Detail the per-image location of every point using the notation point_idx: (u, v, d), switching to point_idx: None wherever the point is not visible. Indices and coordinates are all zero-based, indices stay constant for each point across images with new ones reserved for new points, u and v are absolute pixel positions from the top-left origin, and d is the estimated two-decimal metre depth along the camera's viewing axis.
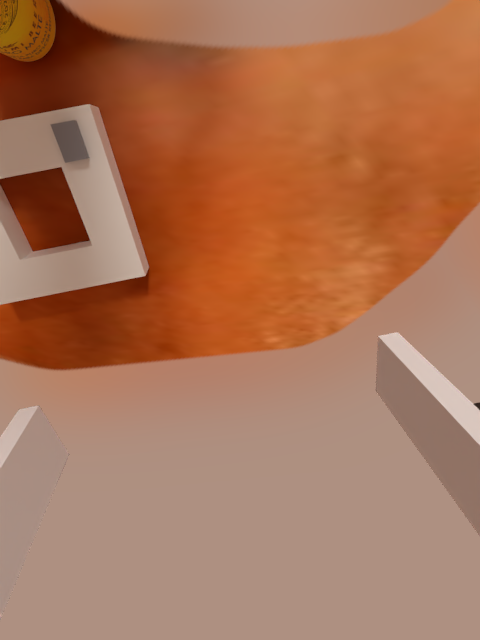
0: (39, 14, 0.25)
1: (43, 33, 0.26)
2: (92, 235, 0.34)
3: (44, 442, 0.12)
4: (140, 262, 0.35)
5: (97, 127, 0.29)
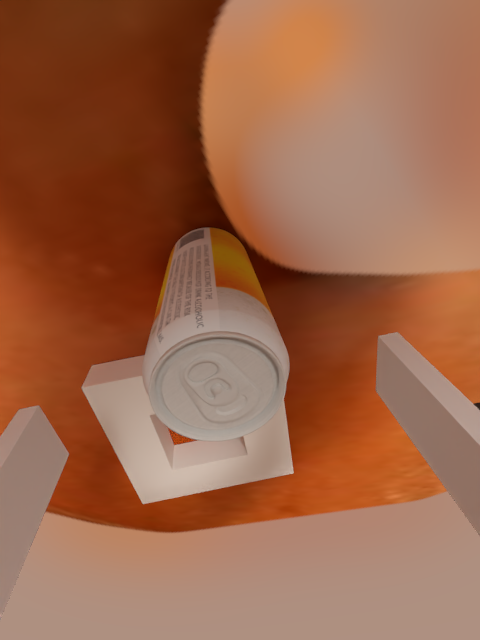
0: None
1: None
2: (250, 447, 0.32)
3: (44, 442, 0.12)
4: (291, 463, 0.34)
5: None
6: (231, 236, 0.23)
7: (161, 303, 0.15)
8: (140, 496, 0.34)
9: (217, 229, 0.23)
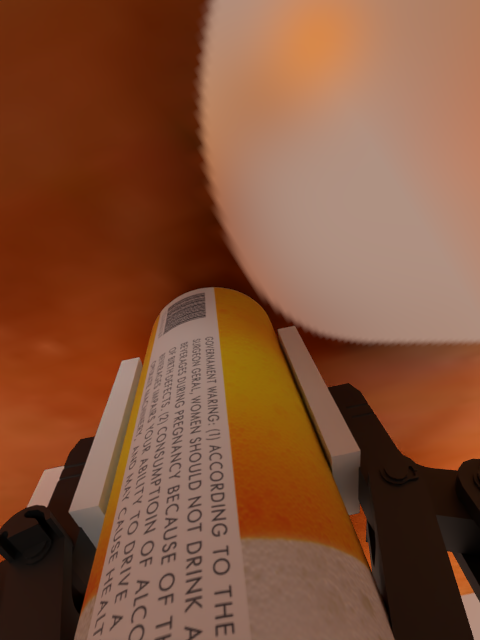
0: None
1: None
2: None
3: None
4: None
5: None
6: (249, 302, 0.15)
7: (110, 530, 0.07)
8: None
9: (226, 291, 0.15)
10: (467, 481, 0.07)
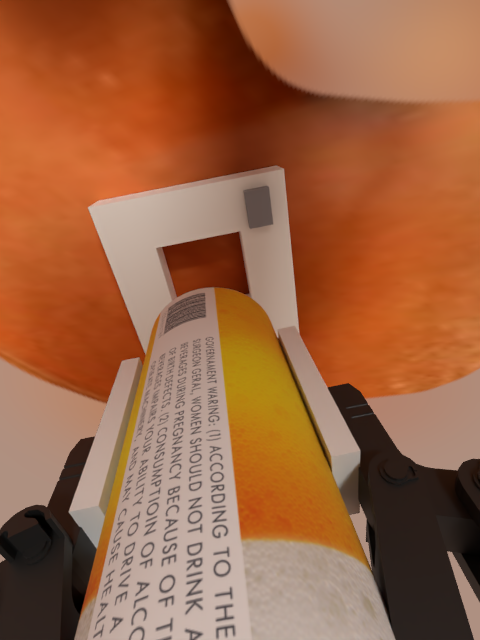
0: None
1: None
2: (256, 296, 0.32)
3: None
4: (297, 321, 0.34)
5: None
6: (249, 302, 0.15)
7: (110, 531, 0.07)
8: None
9: (226, 291, 0.15)
10: (467, 481, 0.07)
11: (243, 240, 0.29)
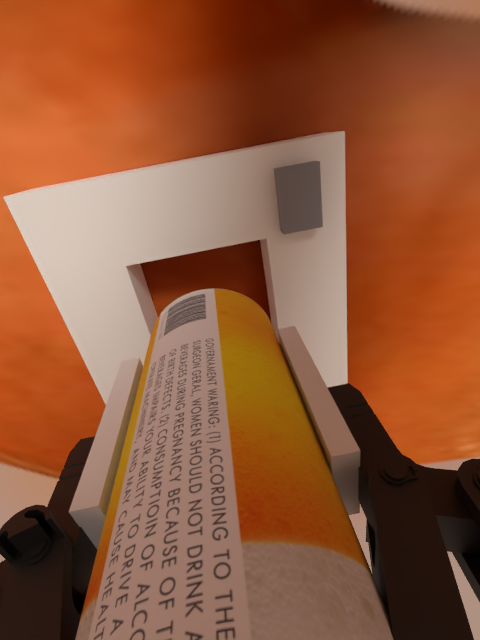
0: None
1: None
2: None
3: None
4: (346, 373, 0.22)
5: None
6: (249, 303, 0.15)
7: (110, 533, 0.07)
8: None
9: (226, 292, 0.15)
10: (467, 481, 0.07)
11: (270, 253, 0.18)
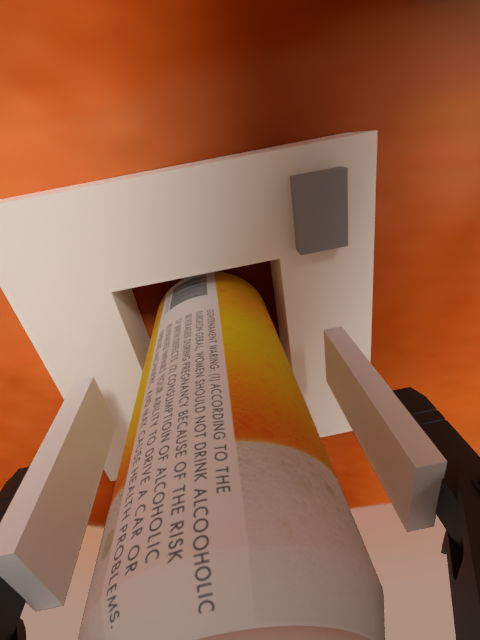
0: None
1: None
2: (300, 373, 0.18)
3: (98, 410, 0.13)
4: None
5: None
6: (245, 285, 0.16)
7: (131, 448, 0.08)
8: (106, 466, 0.19)
9: (225, 275, 0.17)
10: None
11: (283, 276, 0.15)
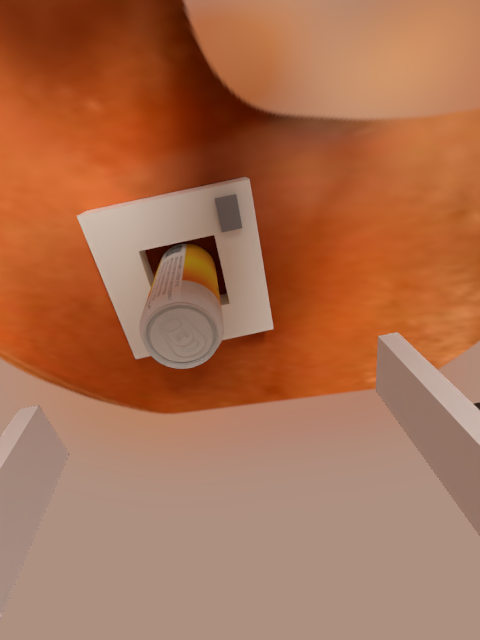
0: None
1: None
2: (231, 294, 0.35)
3: (44, 442, 0.12)
4: (271, 317, 0.37)
5: None
6: (201, 249, 0.34)
7: (151, 291, 0.26)
8: (133, 349, 0.37)
9: (192, 245, 0.34)
10: None
11: (217, 243, 0.32)
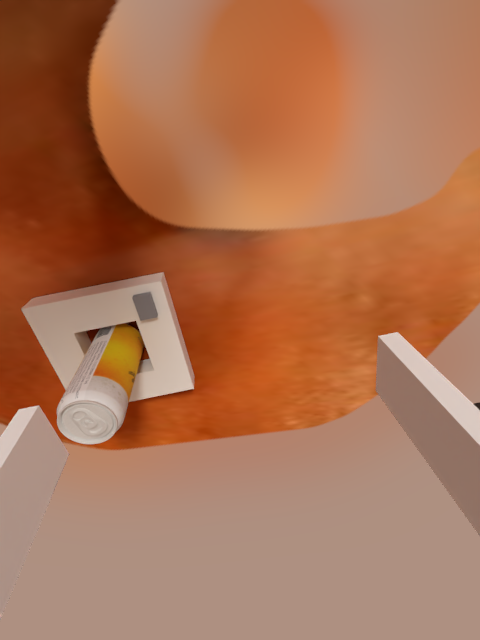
0: (139, 360, 0.41)
1: None
2: (154, 363, 0.42)
3: (44, 442, 0.12)
4: (190, 379, 0.44)
5: (165, 294, 0.38)
6: (128, 328, 0.41)
7: None
8: None
9: (121, 324, 0.41)
10: None
11: (139, 326, 0.40)
